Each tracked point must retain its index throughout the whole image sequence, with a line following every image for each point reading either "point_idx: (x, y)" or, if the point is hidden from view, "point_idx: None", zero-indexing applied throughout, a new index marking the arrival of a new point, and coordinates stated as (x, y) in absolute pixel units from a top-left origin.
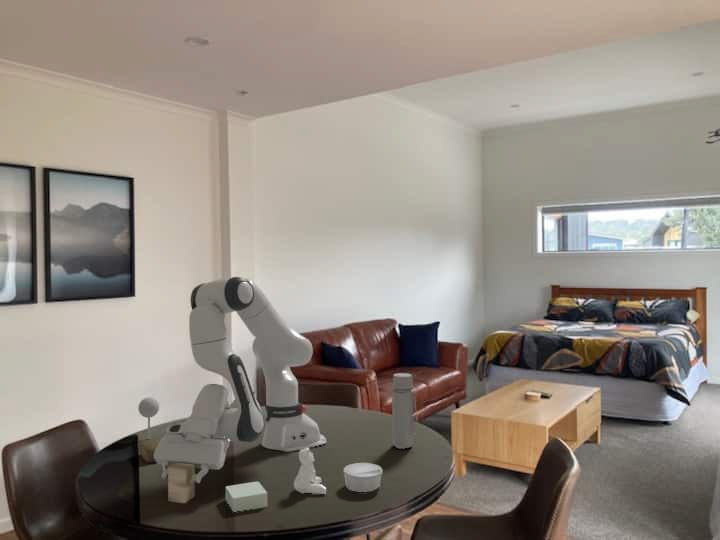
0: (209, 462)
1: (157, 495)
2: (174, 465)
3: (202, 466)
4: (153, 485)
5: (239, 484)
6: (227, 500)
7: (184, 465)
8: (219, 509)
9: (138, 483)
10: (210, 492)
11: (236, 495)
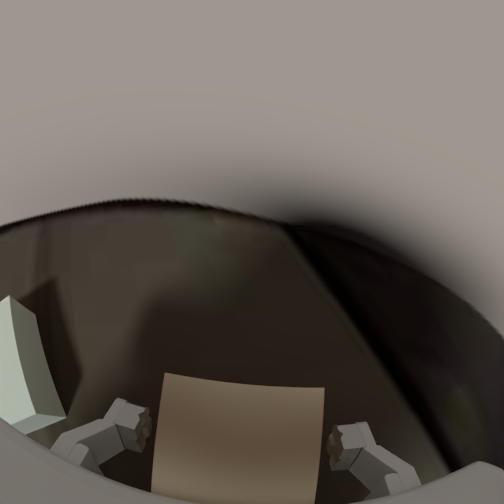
0: (16, 433)
1: None
2: (302, 453)
3: (76, 454)
4: None
5: None
6: (49, 386)
7: (212, 467)
8: (67, 339)
9: None
10: None
11: (1, 320)
